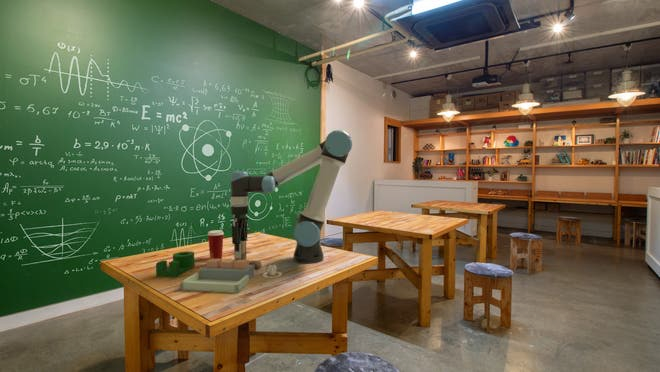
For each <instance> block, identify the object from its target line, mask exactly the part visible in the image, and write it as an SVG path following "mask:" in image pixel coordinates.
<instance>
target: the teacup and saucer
mask: <svg viewBox="0 0 660 372" xmlns="http://www.w3.org/2000/svg"><path fill="white" fill-rule="evenodd" d="M268 274H269V275H270V276H268ZM276 274H278V275H276ZM282 274H283V273H282V272H281V271H277V265H275V264H273V265H269V266H268V268H267V270H266V272H265V273H263V275H262V276H263V277H265V278H268V279H269V278H271V279H274V278H278V277H279V278H280V277H281V276H282Z"/></svg>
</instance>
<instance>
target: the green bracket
mask: <svg viewBox="0 0 660 372" xmlns="http://www.w3.org/2000/svg"><path fill="white" fill-rule="evenodd" d="M168 263H169V264H168ZM195 265H196V263H195V252H194V251H189V250H187V251H180V252H175V253H172V261H169V262H168V260H165V259H164V260H160V261H157V262H156V263H155V275H156V278H157V277H158V278H179V277H180V276H182V275H183V274H184V273H186V272H188V271H190V270H191V269H194V268H195Z"/></svg>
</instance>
